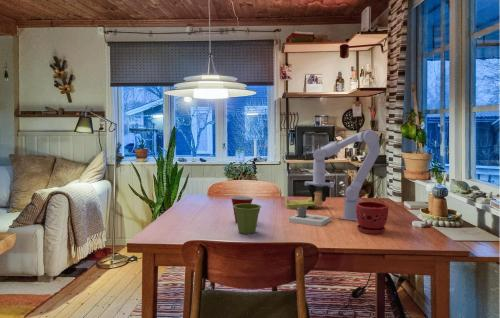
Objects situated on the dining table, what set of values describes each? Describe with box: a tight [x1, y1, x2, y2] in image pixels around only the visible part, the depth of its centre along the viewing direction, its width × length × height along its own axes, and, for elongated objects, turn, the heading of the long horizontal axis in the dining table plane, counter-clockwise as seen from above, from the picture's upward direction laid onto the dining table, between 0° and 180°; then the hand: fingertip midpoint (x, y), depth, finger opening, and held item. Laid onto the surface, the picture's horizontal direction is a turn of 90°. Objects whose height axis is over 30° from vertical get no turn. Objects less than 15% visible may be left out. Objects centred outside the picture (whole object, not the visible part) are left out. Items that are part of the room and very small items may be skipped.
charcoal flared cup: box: [296, 207, 308, 218], centre depth 201 cm, size 5×5×6 cm
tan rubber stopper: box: [314, 190, 323, 206], centre depth 208 cm, size 5×5×6 cm
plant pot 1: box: [232, 203, 262, 235], centre depth 179 cm, size 12×12×11 cm
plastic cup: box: [230, 195, 254, 223], centre depth 198 cm, size 11×11×12 cm
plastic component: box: [285, 196, 318, 210], centre depth 233 cm, size 20×7×10 cm
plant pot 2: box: [356, 200, 389, 235], centre depth 180 cm, size 13×13×12 cm
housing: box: [288, 213, 332, 227], centre depth 200 cm, size 16×12×2 cm
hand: (318, 200), depth 208 cm, fingers closed on tan rubber stopper, 5 cm apart
